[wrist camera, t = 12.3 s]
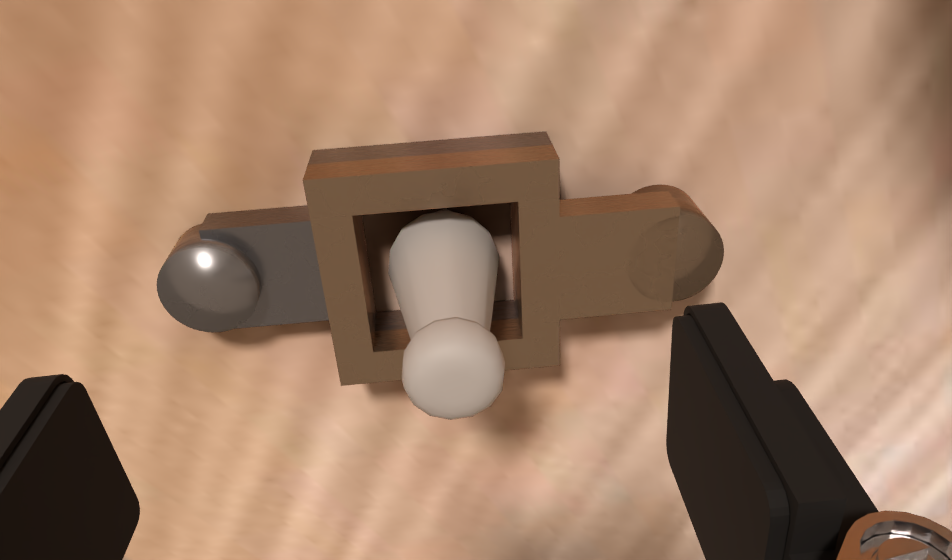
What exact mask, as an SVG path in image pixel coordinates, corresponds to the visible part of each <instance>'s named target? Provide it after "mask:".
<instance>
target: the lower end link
mask: <svg viewBox="0 0 952 560" xmlns="http://www.w3.org/2000/svg"><path fill="white" fill-rule="evenodd" d="M542 145H552V143H551V141H550V139H549V137H548V135H547V133H546V132H535V133H522V134H510V135H498V136H485V137H473V138H460V139H448V140H436V141H423V142H411V143H399V144H386V145H374V146H362V147H349V148H337V149H324V150H313V151H312V154H311V157H310V160H309V163H308V165H309V164H322V163H334V162H346V161H358V160H371V159H383V158H395V157H407V156H420V155H432V154H444V153H456V152H469V151H481V150H493V149H505V148H518V147H530V146H542ZM510 214H511V241H512V268H513V294H514V300H507V301H496V302H494V304H493V312H492V320H491V321H496V320H507V319H518V304H517V275H516V246H515V217H514V202H510ZM357 217H358V223H359V230H360V237H361V243H362V250H363V257H364V263H365V270H366V276H367V283H368V290H369V296H370V303H371V310H372V316H373V323H374V329H375V331H385V330H396V329H407V327H406V324H405V321H404V318H403V315H402V312H401V310H396V311H384V312H376V307H375V301H374V294H373V287H372V280H371V273H370V267H369V260H368V253H367V246H366V240H365V233H364V226H363V219H362V215H357ZM157 291H158V296H159V298H160V301H161V303H162V304H163V306H164V308H165V309H166V310H167V312H168V313H169V314H170V315H171V316H172V317H174V318H175V319H176V320H177V321H179V322H180V323H182V324H184V325H186V326H188V327H190V328H193V329H196V330H199V331H205V332H223V331H228V330H231V329H236V328H247V327H258V326H270V325H281V324H292V323H303V322H314V321H325V320H329V318H328V313H327V307H326V302H325V297H324V291H323V286H322V281H321V275H320V270H319V264H318V259H317V254H316V248H315V243H314V238H313V232H312V227H311V222H310V216H309V211H308V206H296V207H284V208H272V209H260V210H248V211H236V212H224V213H212V214H207V216H206V218H205V220H204V222H203V223H202V224H200V225H197V226H194V227H192V228H191V229H189V230H187V231H186V232H185V233H184V234H183V235H182V236H181V237H180V238H179V240H178V241H177V243H176V245H175V246H174V248H173V250H172V251H171V253H170V255H169V256H168V258H167V260H166V261H165V263H164V265H163V266H162V268H161V270H160V272H159V274H158V278H157Z"/></svg>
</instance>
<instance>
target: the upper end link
mask: <svg viewBox="0 0 952 560" xmlns="http://www.w3.org/2000/svg"><path fill="white" fill-rule="evenodd" d="M303 184H304V189H305V195H306V200H307V205H308V211H309V216H310V222H311V227H312V232H313V238H314V243H315V248H316V254H317V259H318V264H319V270H320V275H321V281H322V286H323V291H324V297H325V302H326V307H327V313H328V318H329V323H330V329H331V334H332V340H333V345H334V350H335V356H336V361H337V366H338V372H339V377H340V382H341V386H343V385H354V384H364V383H375V382H386V381H397V380H402V367H403V356H404V350H405V349H406V347H407V346H408V344H409V342H410V341H411V339H410V336H409V333H408V330H407V329H396V330H385V331H375V329H374V323H373V316H372V310H371V303H370V296H369V290H368V283H367V276H366V270H365V263H364V257H363V250H362V243H361V237H360V230H359V223H358V217H357V215H367V214H378V213H390V212H402V211H414V210H426V209H438V208H449V207H461V206H473V205H485V204H497V203H509V202H514V217H515V246H516V275H517V304H518V319H507V320H496V321H491V328H490V332H491V333H493V335H494V336H495V337H496V339H497V342H498V344H499V346H500V349H501V351H502V353H503V357H504V360H505V370H515V369H526V368H537V367H547V366H558V365H560V320H561V319H572V318H583V317H595V316H606V315H617V314H628V313H639V312H650V311H661V310H671V307H672V301H679V300H683V299H686V298H688V297H691V296H693V295H695V294H697V293H698V292H700V291H701V290H703V289H704V288H705V287H706V286H707V285H708V284H709V283H711V281H712V280H713V279H714V278H715V276H716V275H717V273H718V271H719V269H720V267H721V264H722V261H723V256H724V247H723V242H722V239H721V237H720V234H719V233H718V231H717V230H716V229H715V227H714V226H713V225H712V224H711V223H710V221H709V220H708V219H707V218H706V216H705V215H704V214H703V213H702V212H701V210H700V209H699V208H698V207H697V205H696V204H695V203H694V202H693V200H692V199H691V198H690V197H689V196H688V195H687V194H686V193H685V192H683V191H682V190H680V189H678V188H676V187H673V186H669V185H652V186H648V187H644V188H642V189H639V190H637V191H635V192H633V193H632V194H624V195H612V196H601V197H589V198H577V199H565V200H560V171H559V157H558V155H557V153H556V151H555V149H554V147H553V145H542V146H530V147H518V148H505V149H493V150H481V151H469V152H456V153H444V154H432V155H420V156H407V157H395V158H383V159H371V160H358V161H346V162H334V163H322V164H309V165H308V166H307V169H306V172H305V175H304V178H303Z"/></svg>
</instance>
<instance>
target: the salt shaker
mask: <svg viewBox="0 0 952 560" xmlns="http://www.w3.org/2000/svg"><path fill="white" fill-rule="evenodd" d="M498 262H499V254H498V252H497V249H496V247H495V244H494V242H493V239H492V237H491V235H490V233H489V231H488V230H487V229H485V228H484V227H483V226H482V225H481V224H479V223H478V222H477V221H476V220H475V219H473V218H472V217H471V216H467V215H463V214H460V213H456V212H452V211H450V210H448V209H446V208H445V209H442V210H439V211H437V212H434V213H428V214H423V215H421V216H420V217H418V218H416V219H415V220H413V221H412V222H410V223H409V224H407V225H405V226H404V227H403V228H402V229H401V231H400V233H399V235H398V236H397V238H396V240H395V242H394V243H393V245H392V247H391V249H390V256H389V276H390V279H391V282H392V285H393V288H394V291H395V294H396V297H397V300H398V303H399V306H400V309H401V312H402V315H403V318H404V321H405V324H406V327H407V330H408V333H409V336H410V339H411V341H410V342H409V344H408V346H407V347H406V349H405V350H404V356H403V367H402V382H403V386H404V389H405V391H406V392H407V394H408V396H409V398H410V399H411V401H412V403H413V405H415V406H416V407H418V408H419V409H421V410H422V411H424V412H425V413H427V414H428V415H429V416H434V417H439V418H444V419H450V420H452V419H459V418H466V417H472V416H474V415H476V414H478V413H479V412H481V411H483V410H484V409H486V408H488V407H490V406H491V405H492V403H493V402H494V401H495V399H496V398H497V397H498V395H499V394H500V393H501V391H502V387H503V379H504V370H505V360H504V357H503V353H502V351H501V349H500V346H499V344H498V342H497V339H496V337H495V336H494V335H493V333H491V332H490V328H491V320H492V312H493V304H494V296H495V288H496V280H497V271H498Z"/></svg>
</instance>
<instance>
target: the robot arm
mask: <svg viewBox="0 0 952 560" xmlns="http://www.w3.org/2000/svg"><path fill="white" fill-rule="evenodd" d="M666 446H667V454H668V459H669V463H670V466H671V469H672V472H673V474H674V477H675V479H676V482H677V485H678V487H679V490H680V493H681V495H682V498H683V501H684V503H685V506H686V508H687V511H688V514H689V516H690V519H691V522H692V524H693V527H694V530H695V532H696V535H697V538H698V540H699V543H700V545H701V548H702V551H703V553H704V556H705V559H706V560H952V532H951V531H950V530H949V529H947V528H946V527H944V526H942V525H940V524H938V523H936V522H934V521H932V520H930V519H927V518H925V517H921V516H918V515H914V514H911V513H907V512H898V511H881V512H878V510H877V508H876V507H875V505H874V504H873V502H872V501H871V499H870V498H869V496H868V495H867V493H866V492H865V490H864V489H863V487H862V486H861V484H860V483H859V481H858V480H857V478H856V477H855V475H854V474H853V472H852V471H851V469H850V468H849V466H848V465H847V463H846V461H845V460H844V458H843V457H842V455H841V454H840V452H839V451H838V449H837V448H836V446H835V445H834V443H833V442H832V440H831V439H830V437H829V436H828V434H827V433H826V431H825V430H824V428H823V427H822V425H821V424H820V422H819V421H818V419H817V418H816V416H815V414H814V413H813V411H812V410H811V408H810V407H809V405H808V404H807V402H806V401H805V399H804V398H803V396H802V395H801V393H800V392H799V390H798V389H797V388H796V386H795V385H794V384H793V383H792V382H790V381H788V380H777V381H773V379H772V378H771V376H770V374H769V373H768V371H767V370H766V368H765V366H764V365H763V363H762V362H761V360H760V358H759V357H758V355H757V354H756V352H755V350H754V349H753V347H752V346H751V344H750V342H749V341H748V339H747V338H746V336H745V334H744V333H743V331H742V330H741V328H740V326H739V325H738V323H737V322H736V320H735V318H734V317H733V315H732V314H731V312H730V310H729V309H728V307H727V306H726V305H725V304H724V303H712V304H703V305H694V306H687V307H686V308H685V311H684V316H678V317H675V318H674V319H673V325H672V343H671V362H670V382H669V401H668V420H667V439H666ZM139 515H140V507H139V501H138V498H137V496H136V494H135V492H134V490H133V488H132V486H131V484H130V481H129V479H128V477H127V475H126V473H125V471H124V469H123V467H122V465H121V462H120V460H119V458H118V456H117V454H116V452H115V450H114V448H113V446H112V443H111V441H110V439H109V437H108V435H107V433H106V431H105V429H104V427H103V425H102V422H101V420H100V418H99V416H98V414H97V412H96V410H95V408H94V406H93V403H92V401H91V399H90V397H89V395H88V393H87V391H86V389H85V387H84V386H83V385H82V384H81V383H80V382H74V381H73V380H72V378H70V377H69V376H68V375H64V374H60V375H51V376H42V377H32V378H27V379H24V380H23V381H22V382H21V383H20V384H19V385H18V387H17V388H16V389H15V391H14V392H13V393H12V395H11V396H10V397H9V399H8V400H7V401H6V403H5V404H4V406H3V407H2V408H1V410H0V560H122V559H123V557H124V555H125V552H126V550H127V547H128V545H129V543H130V540H131V538H132V536H133V533H134V531H135V529H136V526H137V524H138V520H139Z"/></svg>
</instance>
